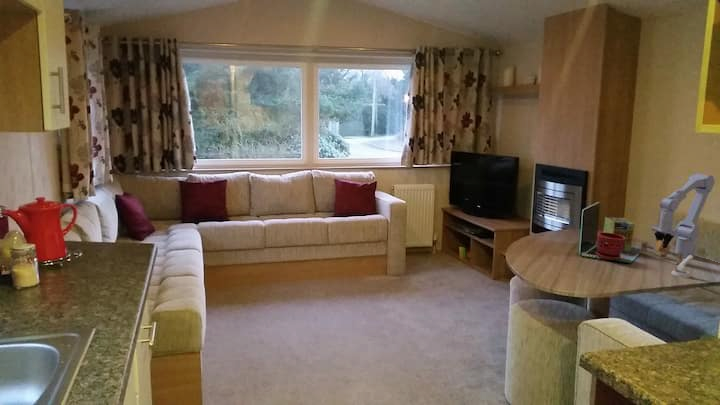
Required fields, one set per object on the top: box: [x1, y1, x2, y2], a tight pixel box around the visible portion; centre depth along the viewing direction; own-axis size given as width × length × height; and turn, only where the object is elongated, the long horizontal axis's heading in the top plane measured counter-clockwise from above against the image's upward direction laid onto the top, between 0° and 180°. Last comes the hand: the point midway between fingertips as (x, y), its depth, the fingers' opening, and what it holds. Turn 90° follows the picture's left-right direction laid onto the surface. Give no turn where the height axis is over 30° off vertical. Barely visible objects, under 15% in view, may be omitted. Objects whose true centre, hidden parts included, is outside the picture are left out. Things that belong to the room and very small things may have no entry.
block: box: [652, 240, 672, 257], centre depth 276 cm, size 8×3×6 cm, turn 116°
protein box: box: [603, 216, 635, 252], centre depth 293 cm, size 10×15×16 cm
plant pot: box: [595, 231, 626, 261], centre depth 272 cm, size 13×13×12 cm
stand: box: [638, 241, 684, 266], centre depth 277 cm, size 6×22×5 cm, turn 23°
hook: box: [671, 255, 694, 278], centre depth 249 cm, size 8×12×7 cm
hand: (662, 247), depth 276 cm, fingers closed on block, 3 cm apart
